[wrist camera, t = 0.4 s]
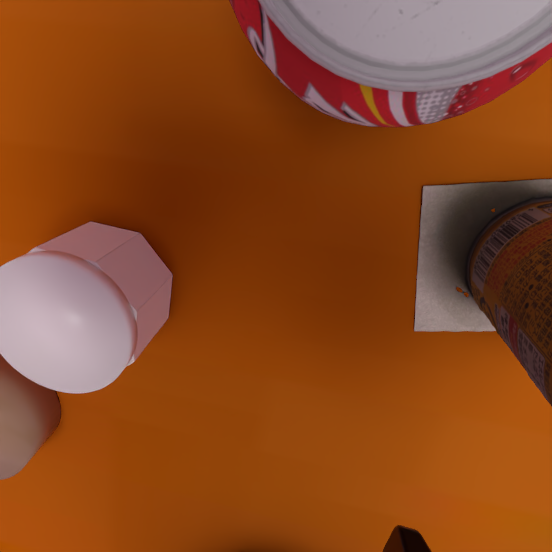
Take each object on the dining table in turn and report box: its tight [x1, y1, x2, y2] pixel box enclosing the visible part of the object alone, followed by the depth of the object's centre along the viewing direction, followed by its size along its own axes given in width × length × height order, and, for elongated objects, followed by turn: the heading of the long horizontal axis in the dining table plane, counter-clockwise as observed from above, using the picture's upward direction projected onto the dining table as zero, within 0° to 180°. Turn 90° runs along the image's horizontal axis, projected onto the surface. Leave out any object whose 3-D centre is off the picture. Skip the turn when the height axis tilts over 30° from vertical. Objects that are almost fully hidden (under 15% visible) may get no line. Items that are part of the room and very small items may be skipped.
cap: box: [0, 222, 173, 393], centre depth 20 cm, size 7×7×5 cm
